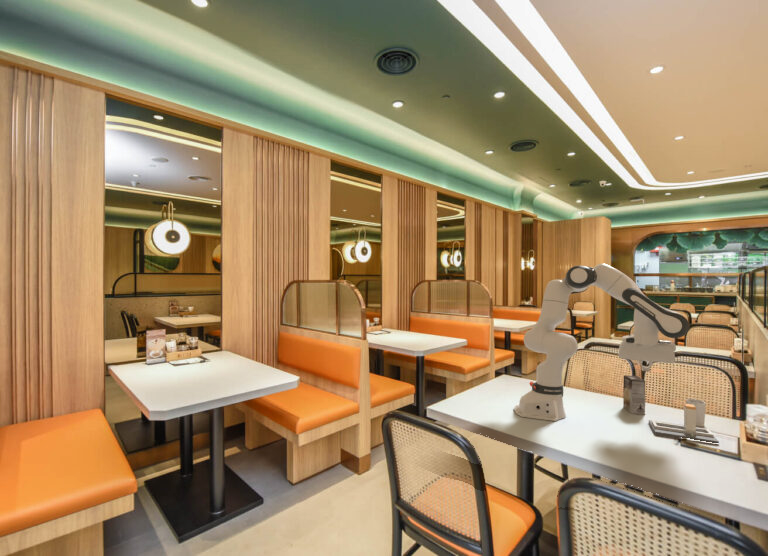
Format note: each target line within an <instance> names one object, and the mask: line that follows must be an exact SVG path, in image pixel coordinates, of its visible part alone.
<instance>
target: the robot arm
mask: <svg viewBox="0 0 768 556" xmlns="http://www.w3.org/2000/svg"><path fill="white" fill-rule="evenodd" d="M591 286H592V287H597V288H600V289H601V290H602V291H603V292H605V293H606V294H608V295H609V296H611V297H612V298H613V299H616V300H617V301H620V302H622V303H623V304H626V305H629V306H630V307H633V308H634V311H633V312H634V313H633V324H634V329H633V334H628V335H623V336H622V337H621V342H620V344H619V347H618V358H620V359H622V360H629V361H630V360H632V361H638V364H639V365H640V367H641V371H642V372H648V373H649V372H651V367H652V366H653V365H654V363H663V364H675V362H676V355H675V352H676V349H677V345H676V344H675V343H674V342H672V341H671V340H662V339H661V340H660V339H659V332H660V333H661V334H662V335H663V336H664V337H666V338H667V337H668V338H670V339H679V338H682V337H684V336H686V334H688V332H689V331H690V322H689V320H688V319H687V318H686V317H685V315H683V314H682V313H680V312H678V311H676V310H671V309H669V308H666V307H664V306H661V305H660V304H658V303H656V302H655V301H653V300H652V299H650V298H649V297H648V296H646V295H645V294H644V293H643V292H642V290H641V288H640V287H639V286H638V284H637V283H636V282H635V281H634V280H633V279H632V278H631V277H629V276H628V275H627V274H625V273H623V272H622V271H620V270H619V269H617V268H615V267H613V266H611V265H609V264H606V263H599V264H597V265H595V266H594V267H592V266H586V265H575V266H572V267H570V268H569V269H568V270H567V271H566V274H565V276H564V278H562V279H552V280H550V281H549V282H547V285H546V286H545V289H544V293H543V298H542V304H541V311H540V315H539V317H538V320H537V322H536V323H535V324H534V326H533V327H531V328H530V329H529V330H527V331H526V332H525V333H524V335H523V344H524V346H525V347H526V348H527V349H528V350H531V351H533V352H535V353H539V354H545V355H546V357H545V361H542V362H540V363H539V364H537V366H536V382H534V381H529V382H528V383H529V386H530V387H531V390H530V391H528V392H526V393H525V394H523V395H521V397H520V398H519V401H518V402H519V404H516V405H514V412H515V414H516V415H518V416H519V417H522V418H527V419H528V418H529V419H537V420H544V421H553V422H557V421H559V420H561V419H564V418H566V416H567V415H566V412H565V407H564V402H563V401H564V400H563V398H564V385H563V371H564V368H565V364H566V363H567V361H568V360H569V359H570V358H572V357H573V356H575V354H576V353H577V351H578V350H579V349H578V341H577V338H576V337H574V336H573V335H571V334H568V333H565V332H561V331H560V332H559V331H555V329H556V327H557V326H558V325H561V324H563V323H564V322H565V321H566V319H567V316H568V315H567V313H568V307H569V299H570V296H571V295H573V294H579V293H584V292H585V291H587V290H588V289H589V288H590V287H591ZM643 362H648V366H645V365H643Z"/></svg>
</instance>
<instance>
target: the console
mask: <svg viewBox="0 0 768 556" xmlns="http://www.w3.org/2000/svg"><path fill="white" fill-rule="evenodd" d="M648 426H649V427H650V429H651V430H652V432H653V433H654V435H655V436H657V437H658V436H659V437H665V438H668V439H669V438H670V439H676V438H679V437H682V438H690V439H694V440H700V441H706V442H712V443H720V441H719V440H718V439H717V438H716V437H715V435H714V434H713V432H712V431H711V430H710V429H709V428H707V427H706V428H705V427H701V426H696V431H690V430H685V429H684V424H680V423H679V424H678V423H671V422H664V421H658V420H652V419H651V420H648Z"/></svg>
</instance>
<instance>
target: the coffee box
mask: <svg viewBox="0 0 768 556" xmlns="http://www.w3.org/2000/svg"><path fill="white" fill-rule="evenodd" d="M622 394H623V395H622V396H623V397H622V398H623V404H622V405H623V406H622V407H623V408H624V409H625V410H626V411H628V412H629V413H630V414H633V415H634V414H635V415H645V414H646V380H644V379H643V378H641V377H640V376H638V375H623V393H622Z"/></svg>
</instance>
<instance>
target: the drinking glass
mask: <svg viewBox="0 0 768 556" xmlns="http://www.w3.org/2000/svg"><path fill="white" fill-rule="evenodd" d="M685 404H692V405H694V406H695V407H696V427H705V421H706V405H707V404H706V402H705V401H703V400H701V399H695V398H686V400H685Z"/></svg>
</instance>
